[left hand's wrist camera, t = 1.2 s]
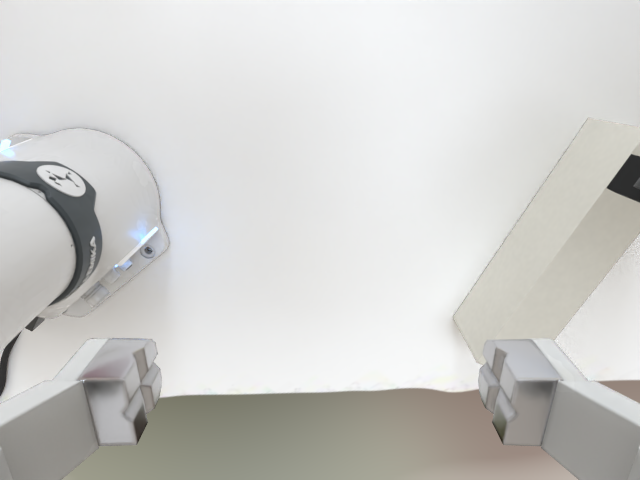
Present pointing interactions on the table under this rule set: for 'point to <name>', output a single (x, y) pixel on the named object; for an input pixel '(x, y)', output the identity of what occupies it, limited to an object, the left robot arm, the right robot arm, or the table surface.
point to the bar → (557, 244)
